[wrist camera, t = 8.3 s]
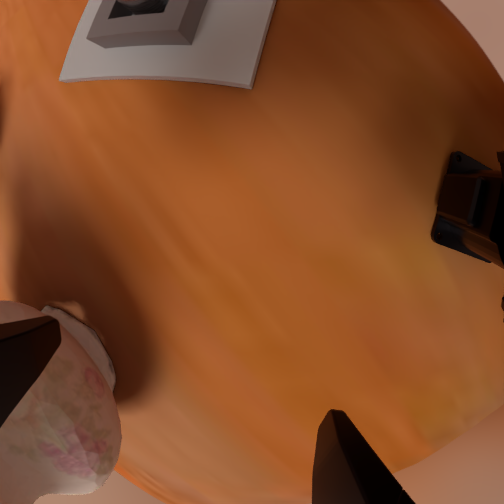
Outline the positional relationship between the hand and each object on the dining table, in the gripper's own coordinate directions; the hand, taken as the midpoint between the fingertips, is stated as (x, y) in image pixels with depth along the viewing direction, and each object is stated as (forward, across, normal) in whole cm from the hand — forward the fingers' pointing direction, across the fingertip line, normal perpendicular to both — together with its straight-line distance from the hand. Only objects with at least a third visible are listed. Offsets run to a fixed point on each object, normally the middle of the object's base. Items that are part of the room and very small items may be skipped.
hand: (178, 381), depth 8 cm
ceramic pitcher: (+12, +16, +15) cm, 25 cm away
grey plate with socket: (+12, +10, -17) cm, 23 cm away
